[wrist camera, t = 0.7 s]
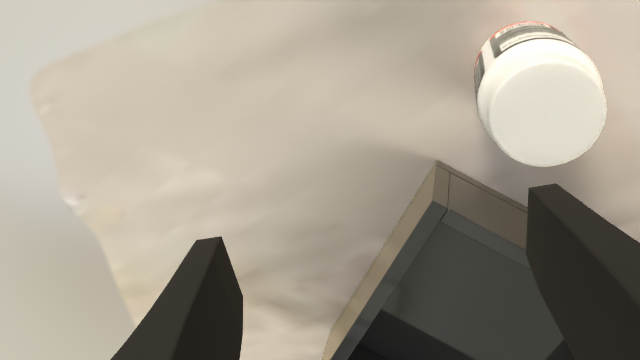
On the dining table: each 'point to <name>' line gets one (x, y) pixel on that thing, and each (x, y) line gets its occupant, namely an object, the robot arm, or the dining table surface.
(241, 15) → the dining table surface
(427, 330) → the dark open box
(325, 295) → the dining table surface
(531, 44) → the pill bottle
